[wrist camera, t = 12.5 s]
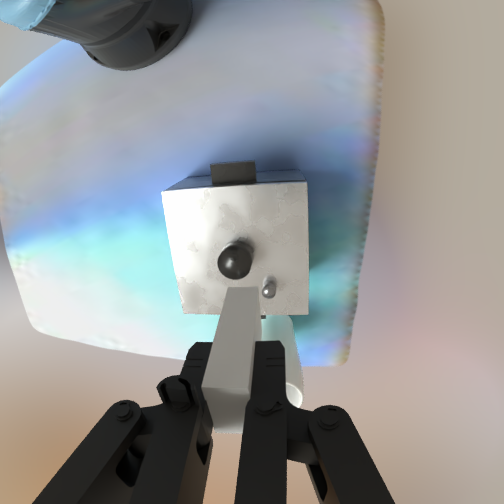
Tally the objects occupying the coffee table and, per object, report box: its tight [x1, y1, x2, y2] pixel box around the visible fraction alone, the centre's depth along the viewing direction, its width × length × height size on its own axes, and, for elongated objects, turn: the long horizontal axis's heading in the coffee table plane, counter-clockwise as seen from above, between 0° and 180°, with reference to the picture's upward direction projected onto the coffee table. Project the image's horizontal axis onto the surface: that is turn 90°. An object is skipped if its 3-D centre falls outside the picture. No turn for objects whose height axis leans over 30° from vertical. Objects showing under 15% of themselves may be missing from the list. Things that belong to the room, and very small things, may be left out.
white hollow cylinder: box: [261, 315, 304, 408], centre depth 38 cm, size 7×7×15 cm
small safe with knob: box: [166, 160, 306, 319], centre depth 36 cm, size 18×14×8 cm
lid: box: [162, 181, 309, 315], centre depth 30 cm, size 14×14×3 cm
